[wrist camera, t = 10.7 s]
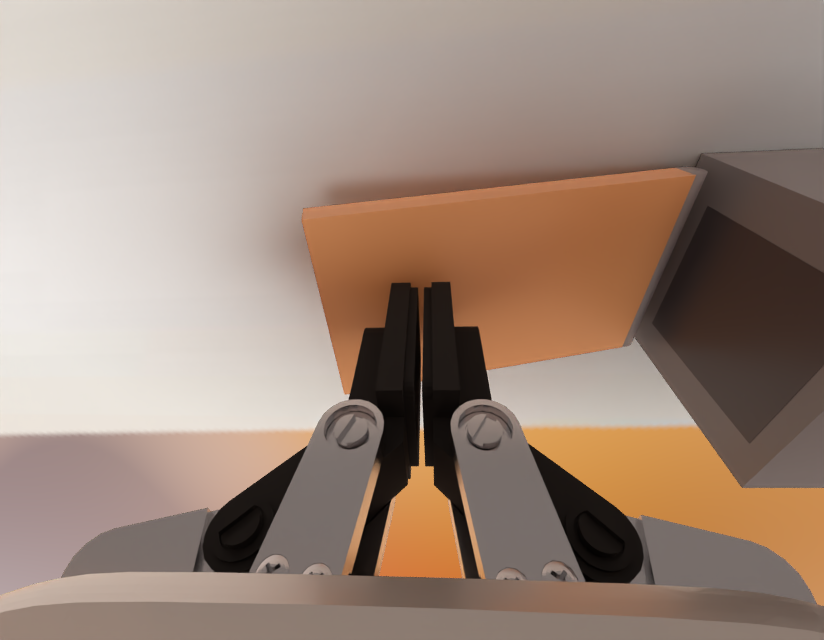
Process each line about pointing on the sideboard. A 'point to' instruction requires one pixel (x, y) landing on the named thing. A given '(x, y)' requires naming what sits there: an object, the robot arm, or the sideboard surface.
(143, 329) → the sideboard surface
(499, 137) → the sideboard surface
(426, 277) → the side door
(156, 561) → the robot arm
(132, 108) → the sideboard surface
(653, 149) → the sideboard surface
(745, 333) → the camera housing
